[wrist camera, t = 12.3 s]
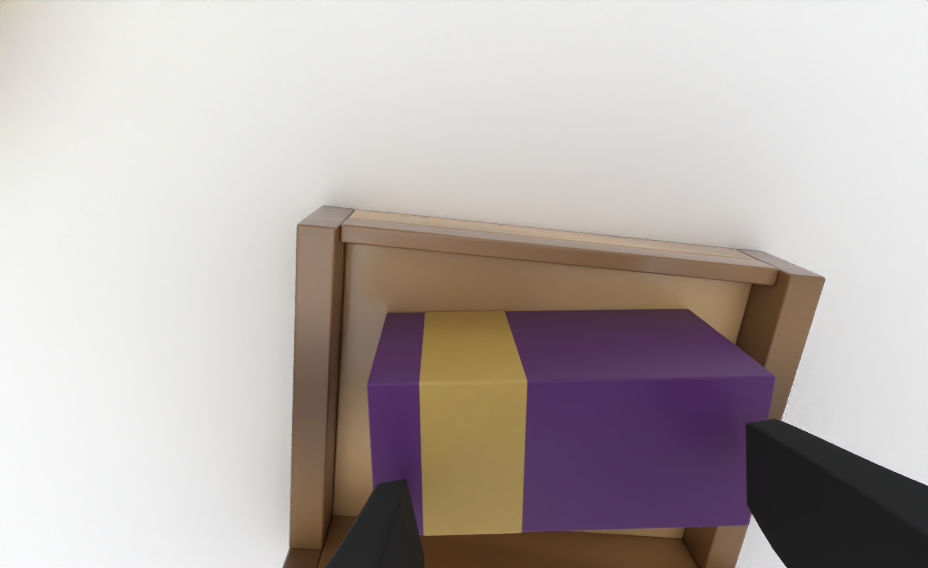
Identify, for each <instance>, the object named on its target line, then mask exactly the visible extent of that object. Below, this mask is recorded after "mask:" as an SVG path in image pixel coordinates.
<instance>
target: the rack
mask: <svg viewBox="0 0 928 568" xmlns="http://www.w3.org/2000/svg"><path fill="white" fill-rule="evenodd" d="M824 282H825V278H824V277H822V276H820V275H818V274H815V273H813V272H810V271H808V270H806V269H803V268H801V267H798V266H796V265H794V264H791V263H789V262H787V261H784V260H782V259H779V258H777V257H775V256H772V255H770V254H768V253H765V252H761V251H751V250H742V249H736V250H735V249H731V248H721V247H712V246H702V245H692V244H683V243H673V242H664V241H654V240H644V239H635V238H625V237H616V236H606V235H596V234H587V233H577V232H568V231H558V230H548V229H539V228H529V227H520V226H510V225H500V224H491V223H481V222H471V221H462V220H452V219H443V218H433V217H423V216H414V215H404V214H395V213H385V212H375V211H366V210H355V211H354V210H353V209H348V208H338V207H329V206H322V207H321V208H319V209H318V210H316V211H315V212H314V213H312V214H311V215H310V216H308V217H307V218H305V219H304V220H303V221H301V222H300V223H299V224H298V225H297V241H296V283H295V324H294V366H293V407H292V449H291V491H290V532H289V547H290V548H289V551H288V554H287V556H286V559H285V562H284V565H283V568H325V566H326V565H327V563H328V562H329V560H330V559H331V557H332V556H333V554H334V553H335V551H336V550H337V548H338V547H339V545H340V544H341V542H342V540H343V539H344V537H345V536H346V534H347V533H348V531H349V530H350V528H351V526H352V525H353V523H354V521H355V520H356V518H357V517H358V515H359V513H360V511H361V510H362V508H363V506H364V505H365V503H366V501H367V500H368V498H369V496H370V495H371V493H372V491H373V485H372V468H371V451H370V433H369V416H368V399H367V382H368V379H369V375H370V372H371V368H372V364H373V361H374V357H375V354H376V350H377V347H378V343H379V339H380V336H381V332H382V329H383V325H384V322H385V318H386V315H387V313H425V312H453V311H570V310H643V309H689V310H691V311H692V312H693V313H695V314H696V315H697V316H698V317H700V318H701V319H702V320H704V321H705V322H706V323H707V324H709V325H710V326H711V327H713V328H714V329H715V330H716V331H718V332H719V333H720V334H722V335H723V336H724V337H725V338H727V339H728V340H729V341H731V342H732V343H733V344H735V345H736V346H737V347H738V348H740V349H741V350H742V351H744V352H745V353H746V354H747V355H749V356H750V357H751V358H753V359H754V360H755V361H756V362H758V363H759V364H760V365H762V366H763V367H764V368H765V369H767V370H768V371H769V372H771V373H772V374H773V375H775V377H776V379H775V385H774V390H773V396H772V401H771V407H770V412H769V418H768V420H769V419H777V420H780V421H781V419H782V416H783V413H784V410H785V406H786V403H787V400H788V397H789V394H790V390H791V387H792V384H793V381H794V378H795V374H796V371H797V368H798V365H799V362H800V359H801V355H802V352H803V349H804V346H805V343H806V339H807V336H808V333H809V330H810V327H811V323H812V320H813V317H814V314H815V311H816V308H817V304H818V301H819V298H820V295H821V292H822V288H823V285H824ZM751 515H752V513H751ZM750 518H751V516H750ZM747 528H748V525H747V526H715V527H680V528H646V529H611V530H577V531H542V532H521V533H504V534H470V535H435V536H425V535H419V536H420V540H421V544H422V549H423V553H424V565H425V568H735V566H736V563H737V559H738V556H739V553H740V550H741V547H742V543H743V540H744V537H745V534H746V531H747Z"/></svg>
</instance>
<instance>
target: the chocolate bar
mask: <svg viewBox="0 0 928 568" xmlns="http://www.w3.org/2000/svg"><path fill="white" fill-rule="evenodd" d="M775 379H776V377H775V375H773V374H772V373H771V372H769V371H768V370H767V369H765V368H764V367H763V366H762V365H760V364H759V363H758V362H756V361H755V360H754V359H753V358H751V357H750V356H749V355H747V354H746V353H745V352H744V351H742V350H741V349H740V348H738V347H737V346H736V345H735V344H733V343H732V342H731V341H729V340H728V339H727V338H725V337H724V336H723V335H722V334H720V333H719V332H718V331H716V330H715V329H714V328H713V327H711V326H710V325H709V324H707V323H706V322H705V321H704V320H702V319H701V318H700V317H698V316H697V315H696V314H695V313H693V312H692V311H691V310H689V309H643V310H570V311H453V312H425V313H387V315H386V318H385V322H384V325H383V329H382V332H381V336H380V339H379V343H378V347H377V350H376V354H375V357H374V361H373V364H372V368H371V372H370V375H369V379H368V382H367V399H368V416H369V433H370V451H371V468H372V485H373V489H374V488H375V487H376V485H377V484H378V483H383V482H389V481H395V480H401V479H407V483H408V488H409V492H410V497H411V501H412V505H413V510H414V514H415V518H416V523H417V527H418V531H419V535H425V536H435V535H470V534H504V533H521V532H542V531H577V530H611V529H646V528H680V527H715V526H747V525H749V522H750V516H751V511H750V509H749V508H748V506H747V488H746V423H750V422H756V421H763V420H768V418H769V412H770V407H771V401H772V396H773V390H774V385H775Z"/></svg>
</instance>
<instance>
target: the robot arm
mask: <svg viewBox="0 0 928 568" xmlns="http://www.w3.org/2000/svg"><path fill="white" fill-rule="evenodd" d="M746 488H747V506H748V508H749V509H750V511H751V513H752V515H753V516H754V518H755V520H756V521H757V523H758V525H759V527H760V528H761V530H762V532H763V533H764V535H765V537H766V538H767V540H768V542H769V543H770V545H771V546H772V548H773V550H774V551H775V552H776V554H777V555H778V556H779V558H780V559H781V560H782V562H783V563H784V564H785V566H786V567H787V568H928V486H927V485H925V484H922V483H920V482H917V481H915V480H912V479H910V478H908V477H905V476H903V475H901V474H898V473H896V472H894V471H891V470H889V469H887V468H884V467H882V466H880V465H878V464H875V463H873V462H871V461H869V460H867V459H864V458H862V457H860V456H858V455H855V454H853V453H851V452H849V451H847V450H845V449H842V448H840V447H838V446H836V445H834V444H832V443H829V442H827V441H825V440H823V439H821V438H819V437H816V436H814V435H812V434H810V433H808V432H806V431H803V430H801V429H799V428H797V427H794V426H792V425H790V424H787V423H785V422H782V421H780V420H777V419H769V420H763V421H756V422H750V423H746ZM325 568H425V565H424V553H423V549H422V544H421V540H420V536H419V531H418V527H417V523H416V518H415V514H414V510H413V505H412V501H411V497H410V492H409V488H408V483H407V479H401V480H395V481H389V482H383V483H378V484H377V485H376V487H375V488H374V489H373V491H372V493H371V495H370V496H369V498H368V500H367V501H366V503H365V505H364V506H363V508H362V510H361V511H360V513H359V515H358V517H357V518H356V520H355V521H354V523H353V525H352V526H351V528H350V530H349V531H348V533H347V534H346V536H345V537H344V539H343V540H342V542H341V544H340V545H339V547H338V548H337V550H336V551H335V553H334V554H333V556H332V557H331V559H330V560H329V562H328V563H327V565H326V566H325Z"/></svg>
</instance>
